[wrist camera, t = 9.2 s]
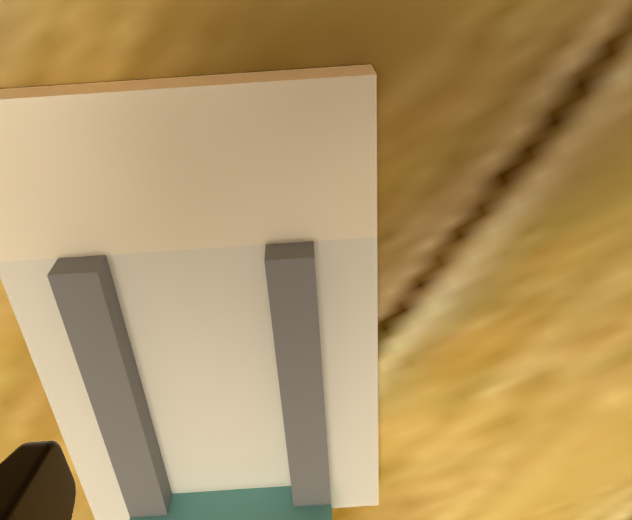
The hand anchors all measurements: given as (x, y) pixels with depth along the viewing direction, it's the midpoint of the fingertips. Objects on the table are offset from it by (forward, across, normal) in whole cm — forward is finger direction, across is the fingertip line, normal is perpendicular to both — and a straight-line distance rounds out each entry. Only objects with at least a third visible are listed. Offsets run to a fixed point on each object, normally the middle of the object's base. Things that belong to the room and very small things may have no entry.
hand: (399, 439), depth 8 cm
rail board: (+12, +5, +7) cm, 15 cm away
